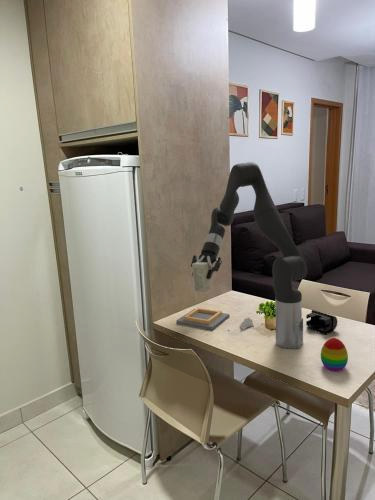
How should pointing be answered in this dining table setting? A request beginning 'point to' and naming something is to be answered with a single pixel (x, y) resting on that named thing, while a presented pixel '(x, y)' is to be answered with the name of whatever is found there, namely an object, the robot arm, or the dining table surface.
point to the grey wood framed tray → (203, 318)
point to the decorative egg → (334, 355)
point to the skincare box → (201, 276)
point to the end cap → (321, 322)
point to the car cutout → (246, 323)
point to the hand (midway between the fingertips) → (200, 277)
